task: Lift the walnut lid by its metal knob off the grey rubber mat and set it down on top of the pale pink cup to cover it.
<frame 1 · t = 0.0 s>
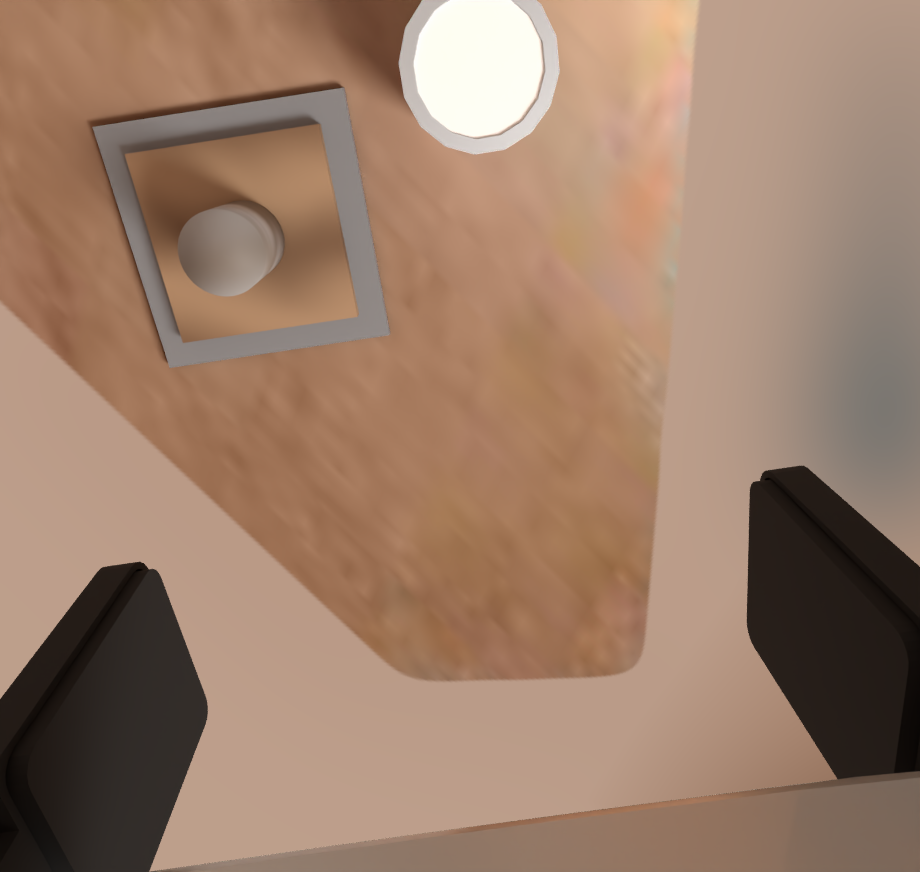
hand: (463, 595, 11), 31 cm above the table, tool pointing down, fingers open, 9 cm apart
mat: (252, 236, 39), on the table
pale pink cup: (470, 79, 36), on the table
lid: (250, 237, 38), resting on mat
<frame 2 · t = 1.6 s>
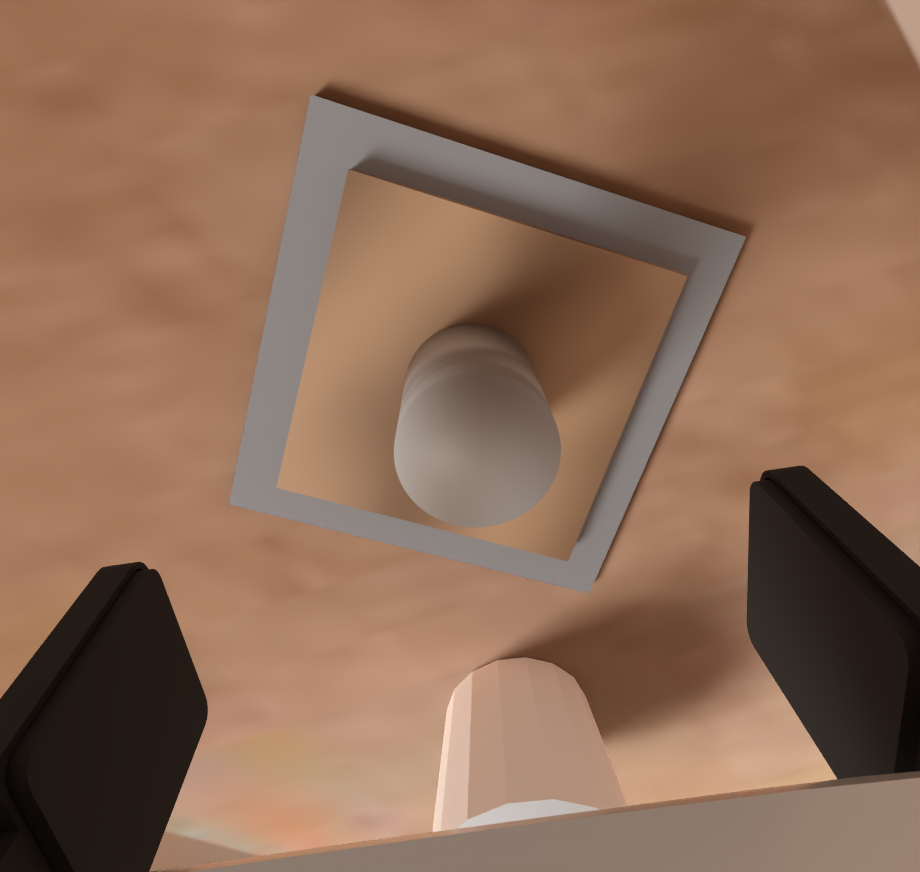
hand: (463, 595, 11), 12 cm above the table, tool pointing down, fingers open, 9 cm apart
mat: (469, 374, 23), on the table
pale pink cup: (516, 709, 28), on the table
lid: (469, 379, 22), resting on mat
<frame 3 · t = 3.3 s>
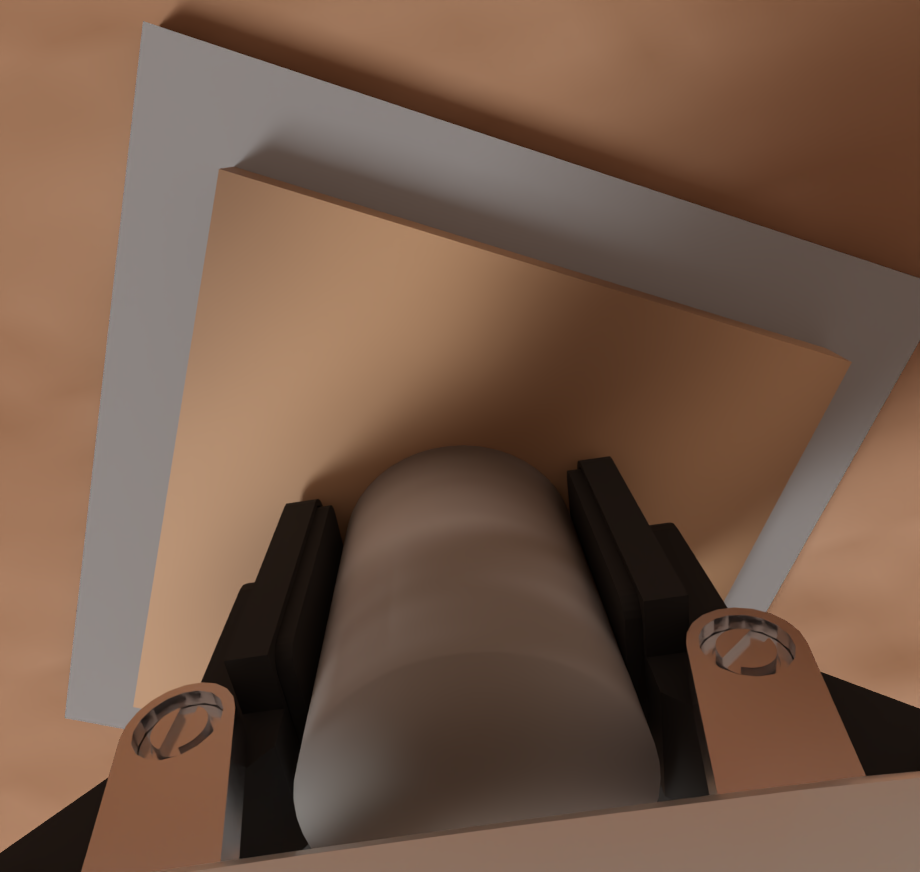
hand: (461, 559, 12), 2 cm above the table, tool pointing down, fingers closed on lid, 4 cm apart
mat: (457, 513, 13), on the table
lid: (458, 526, 13), resting on mat, touching gripper
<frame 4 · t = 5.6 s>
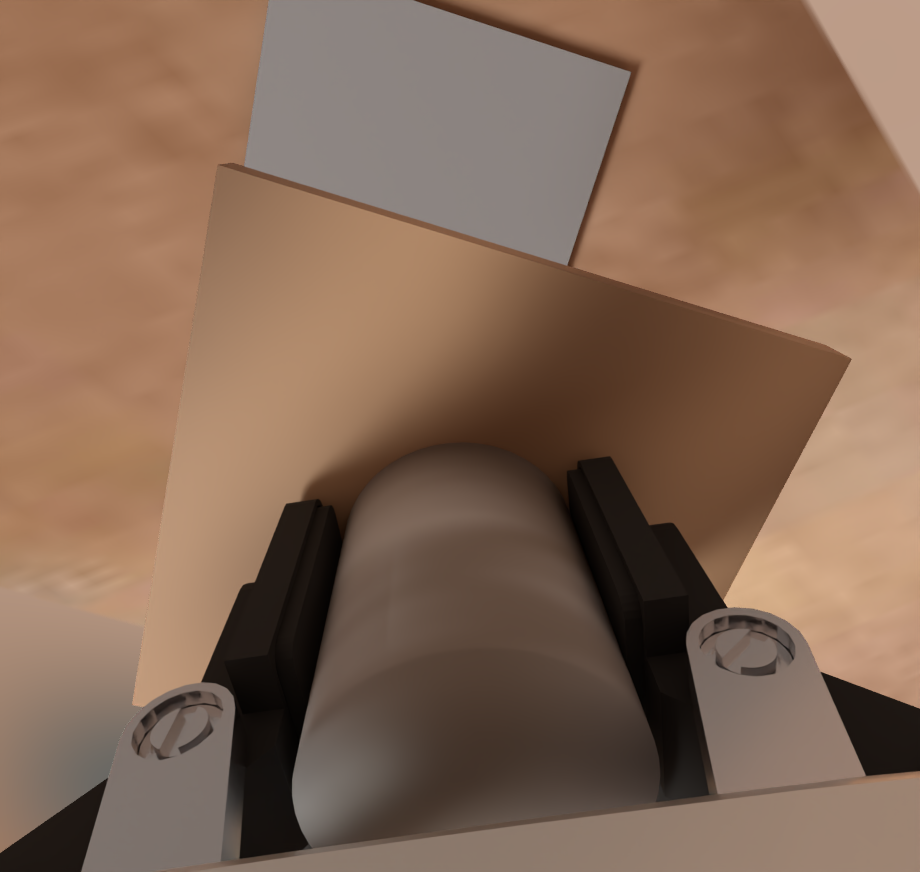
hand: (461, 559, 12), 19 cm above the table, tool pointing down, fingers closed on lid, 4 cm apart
mat: (415, 201, 28), on the table
lid: (458, 524, 13), point 18 cm above the table, touching gripper
when the fingers open (9 cm above the table, at t = 8.4 s): lid drops 1 cm, resting on pale pink cup.
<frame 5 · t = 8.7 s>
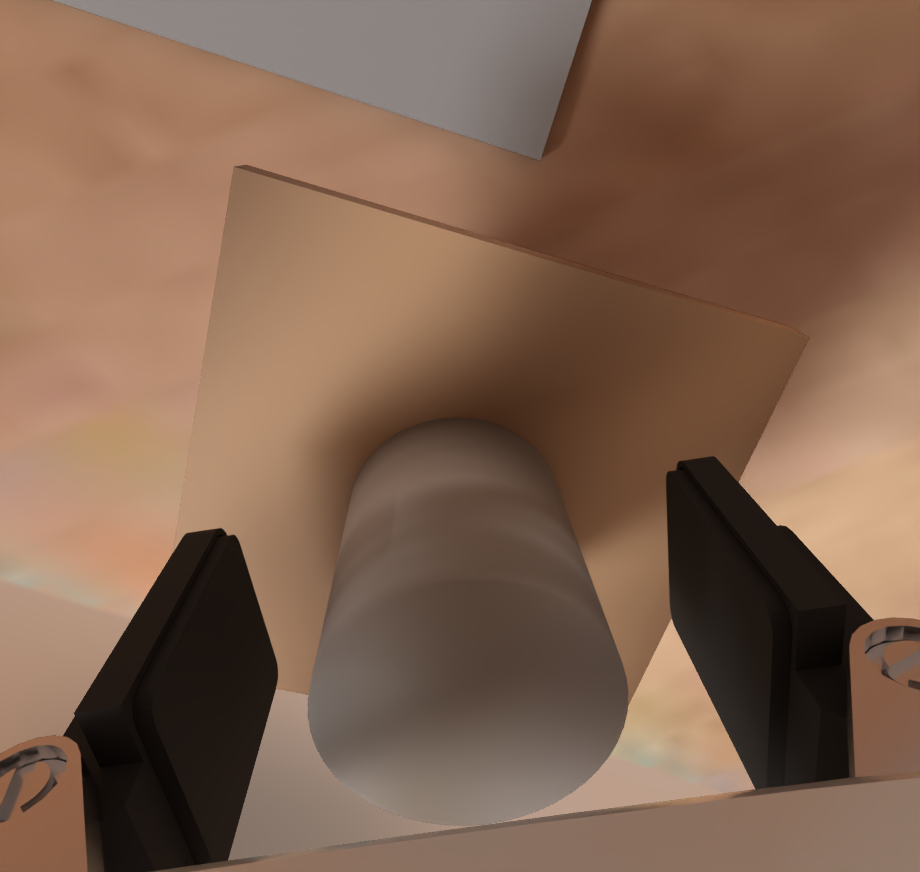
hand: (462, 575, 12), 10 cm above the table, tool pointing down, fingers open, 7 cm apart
lid: (453, 495, 14), point 7 cm above the table, touching pale pink cup
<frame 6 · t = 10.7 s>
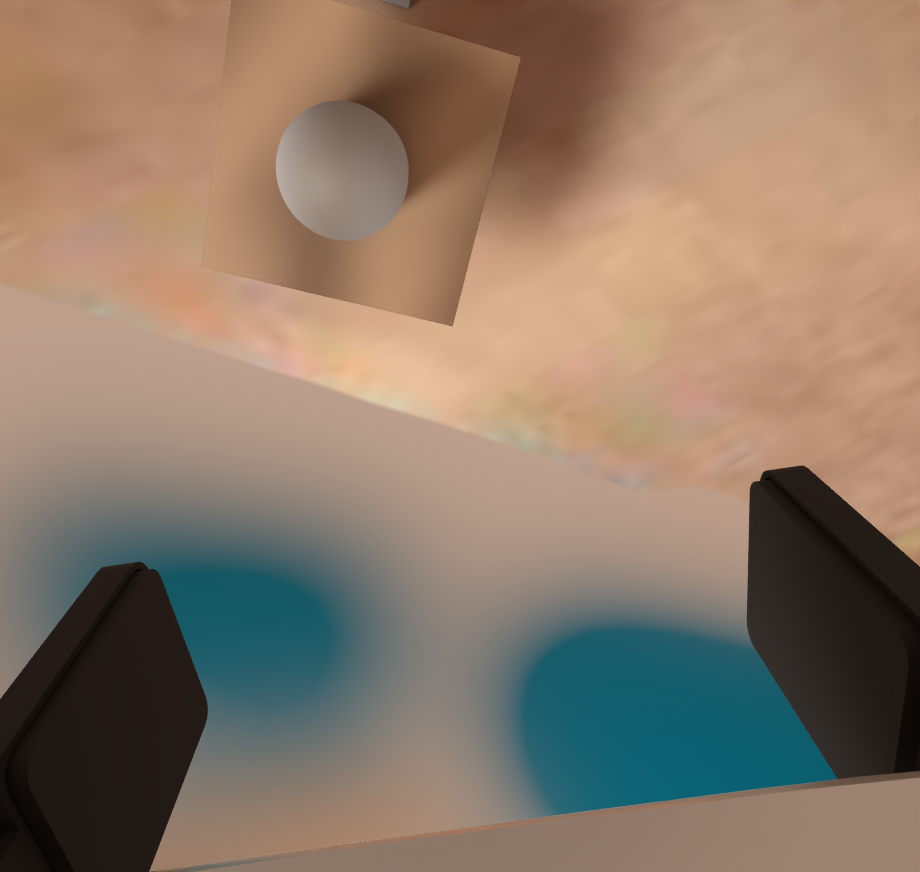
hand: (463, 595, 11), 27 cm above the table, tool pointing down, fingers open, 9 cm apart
lid: (356, 165, 27), point 7 cm above the table, touching pale pink cup
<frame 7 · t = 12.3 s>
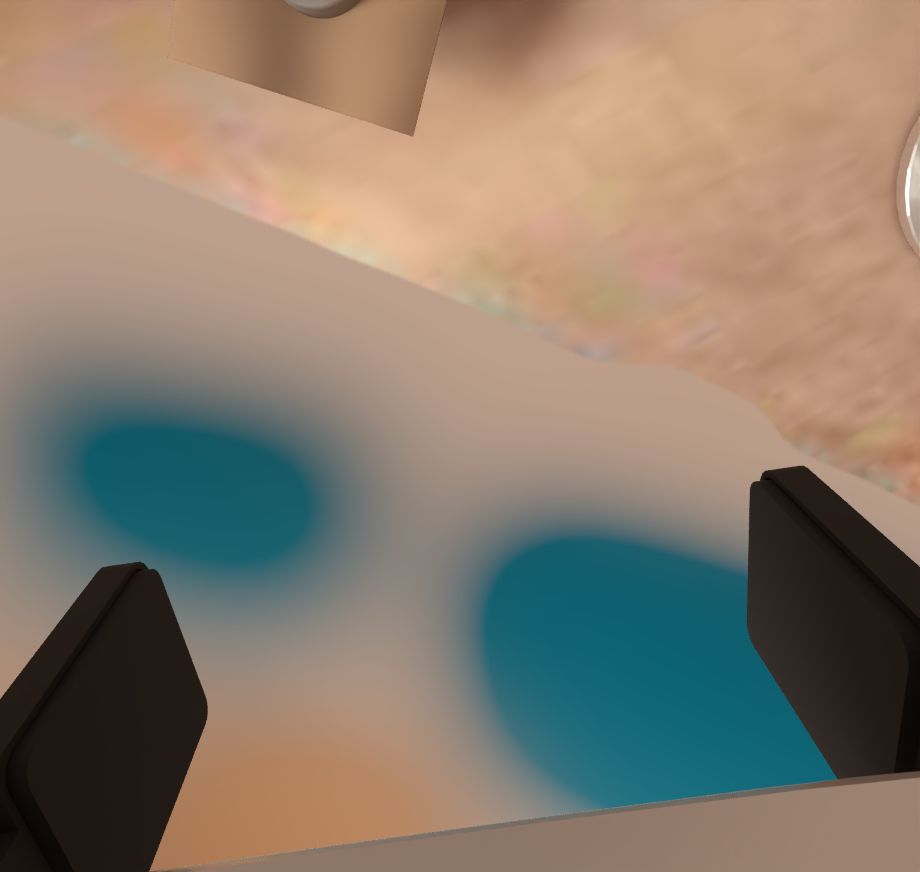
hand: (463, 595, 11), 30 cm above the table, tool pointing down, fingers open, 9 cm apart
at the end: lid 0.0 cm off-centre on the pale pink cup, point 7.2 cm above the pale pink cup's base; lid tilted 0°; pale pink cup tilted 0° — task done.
